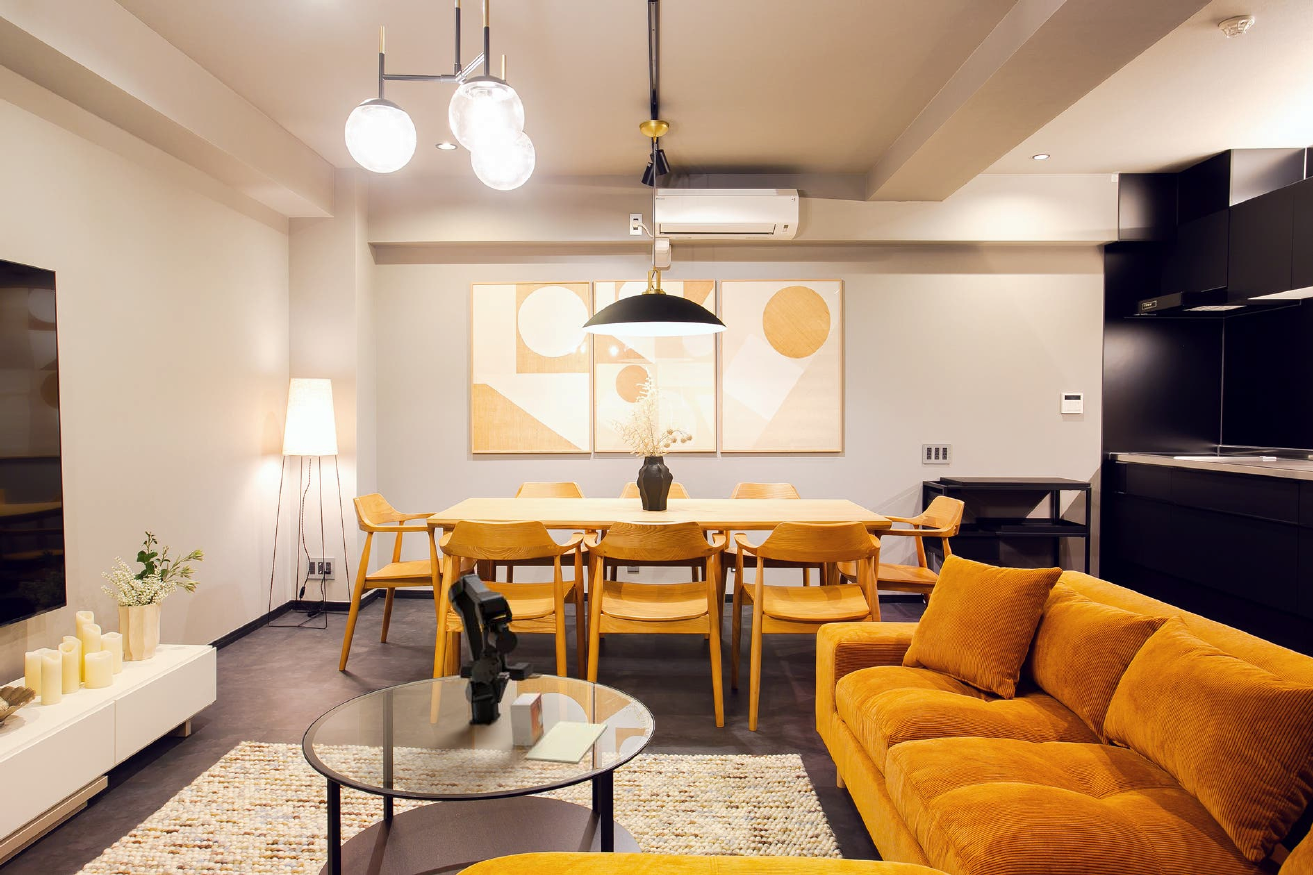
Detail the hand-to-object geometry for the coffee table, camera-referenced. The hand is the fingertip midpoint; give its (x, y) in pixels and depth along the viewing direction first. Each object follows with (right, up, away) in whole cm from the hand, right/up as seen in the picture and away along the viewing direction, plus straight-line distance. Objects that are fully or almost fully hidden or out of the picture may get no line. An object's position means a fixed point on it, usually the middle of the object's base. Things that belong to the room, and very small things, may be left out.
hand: (498, 702), depth 186 cm
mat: (+19, -8, -5) cm, 21 cm away
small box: (+8, -9, -2) cm, 12 cm away
